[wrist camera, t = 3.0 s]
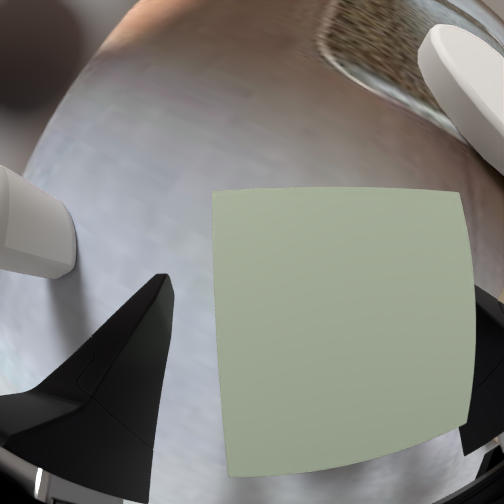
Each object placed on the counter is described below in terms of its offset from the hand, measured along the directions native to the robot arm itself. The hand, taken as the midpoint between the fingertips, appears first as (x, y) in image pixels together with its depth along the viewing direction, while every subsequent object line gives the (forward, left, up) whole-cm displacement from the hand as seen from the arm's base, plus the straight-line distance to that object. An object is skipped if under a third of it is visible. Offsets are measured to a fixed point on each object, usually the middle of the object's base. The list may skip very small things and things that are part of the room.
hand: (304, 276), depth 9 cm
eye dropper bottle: (+13, +9, -7) cm, 17 cm away
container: (-4, -31, -7) cm, 32 cm away
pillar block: (-1, +1, -7) cm, 7 cm away
